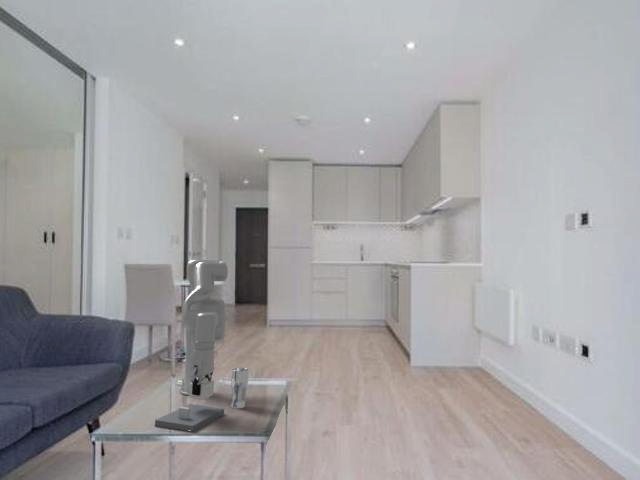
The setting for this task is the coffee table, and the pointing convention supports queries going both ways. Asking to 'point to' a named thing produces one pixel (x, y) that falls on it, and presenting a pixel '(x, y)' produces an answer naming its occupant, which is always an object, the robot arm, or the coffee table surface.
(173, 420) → the flat gray board
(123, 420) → the coffee table surface
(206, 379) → the knob
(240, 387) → the beer glass
